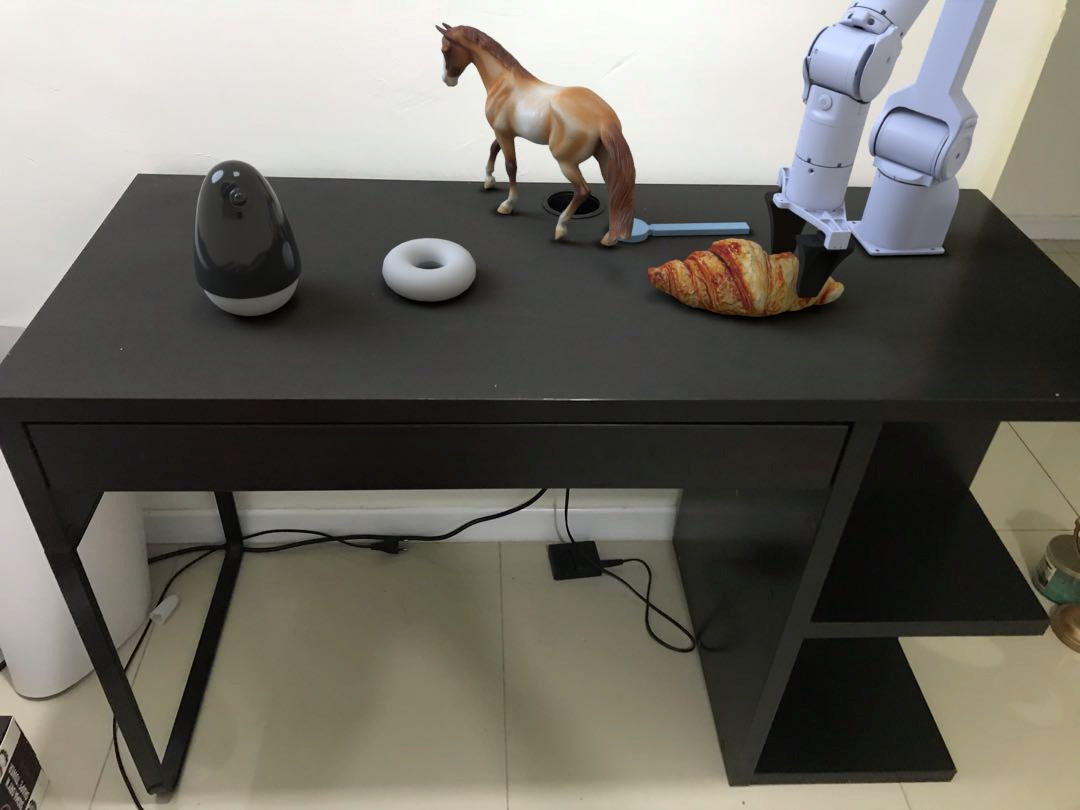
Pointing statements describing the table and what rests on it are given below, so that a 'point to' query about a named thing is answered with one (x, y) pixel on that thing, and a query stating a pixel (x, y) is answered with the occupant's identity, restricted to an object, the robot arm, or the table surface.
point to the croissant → (738, 280)
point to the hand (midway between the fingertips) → (793, 276)
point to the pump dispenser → (243, 242)
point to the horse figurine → (546, 126)
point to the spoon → (684, 229)
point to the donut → (429, 269)
